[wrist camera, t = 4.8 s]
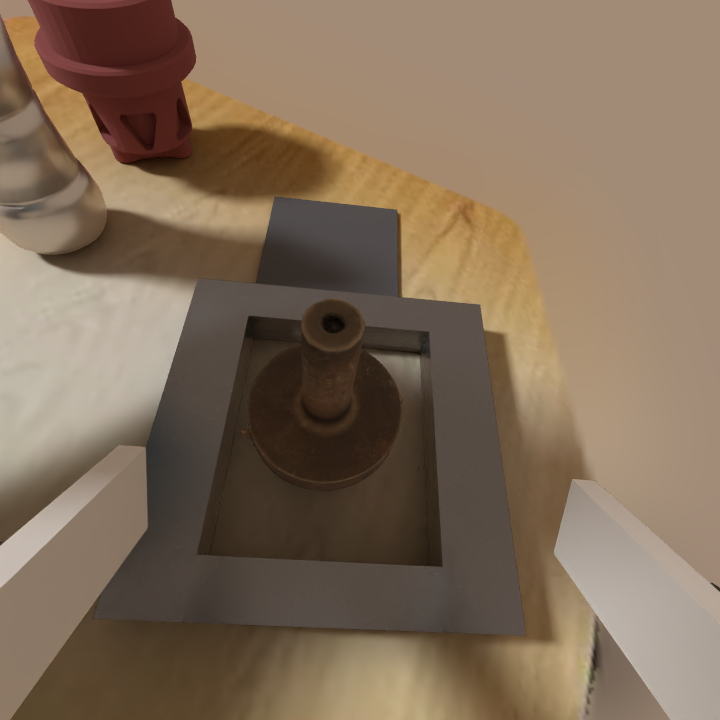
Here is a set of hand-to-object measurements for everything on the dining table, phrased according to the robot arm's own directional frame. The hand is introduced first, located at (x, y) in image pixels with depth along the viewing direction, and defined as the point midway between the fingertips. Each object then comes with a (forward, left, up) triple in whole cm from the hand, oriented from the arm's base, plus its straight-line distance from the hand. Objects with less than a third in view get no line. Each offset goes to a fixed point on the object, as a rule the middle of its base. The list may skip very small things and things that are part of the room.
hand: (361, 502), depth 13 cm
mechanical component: (-18, +30, -10) cm, 37 cm away
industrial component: (-1, +5, -10) cm, 11 cm away
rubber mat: (-2, +20, -10) cm, 23 cm away
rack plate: (-1, +5, -10) cm, 11 cm away
